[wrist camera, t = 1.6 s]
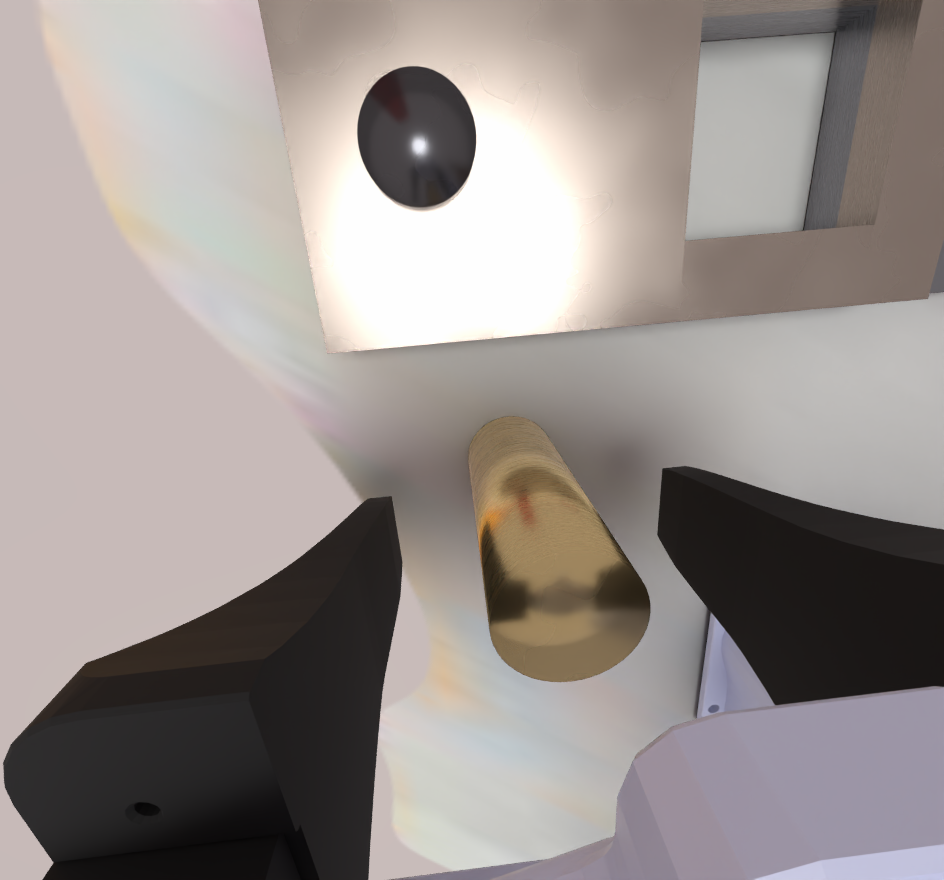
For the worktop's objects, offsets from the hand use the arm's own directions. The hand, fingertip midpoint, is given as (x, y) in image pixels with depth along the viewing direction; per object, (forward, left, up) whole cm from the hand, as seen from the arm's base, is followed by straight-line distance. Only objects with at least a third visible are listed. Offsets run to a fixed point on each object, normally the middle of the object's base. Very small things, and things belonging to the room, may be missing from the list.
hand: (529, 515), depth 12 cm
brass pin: (0, 0, -4) cm, 4 cm away
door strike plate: (+9, -7, -4) cm, 12 cm away
